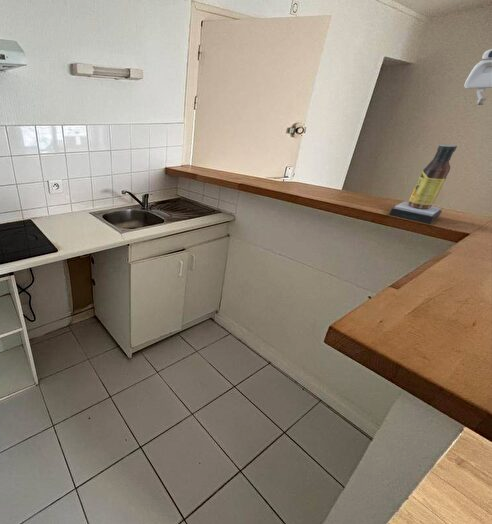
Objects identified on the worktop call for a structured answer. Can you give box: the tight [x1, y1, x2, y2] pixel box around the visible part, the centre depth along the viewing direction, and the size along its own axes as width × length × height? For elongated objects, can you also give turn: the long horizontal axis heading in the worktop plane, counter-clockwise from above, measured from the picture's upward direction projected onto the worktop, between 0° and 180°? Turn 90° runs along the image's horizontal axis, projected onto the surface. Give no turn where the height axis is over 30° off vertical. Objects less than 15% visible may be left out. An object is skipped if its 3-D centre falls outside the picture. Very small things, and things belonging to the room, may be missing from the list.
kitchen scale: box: [389, 200, 443, 225], centre depth 97 cm, size 11×11×3 cm
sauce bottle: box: [408, 144, 458, 209], centre depth 92 cm, size 6×6×20 cm
